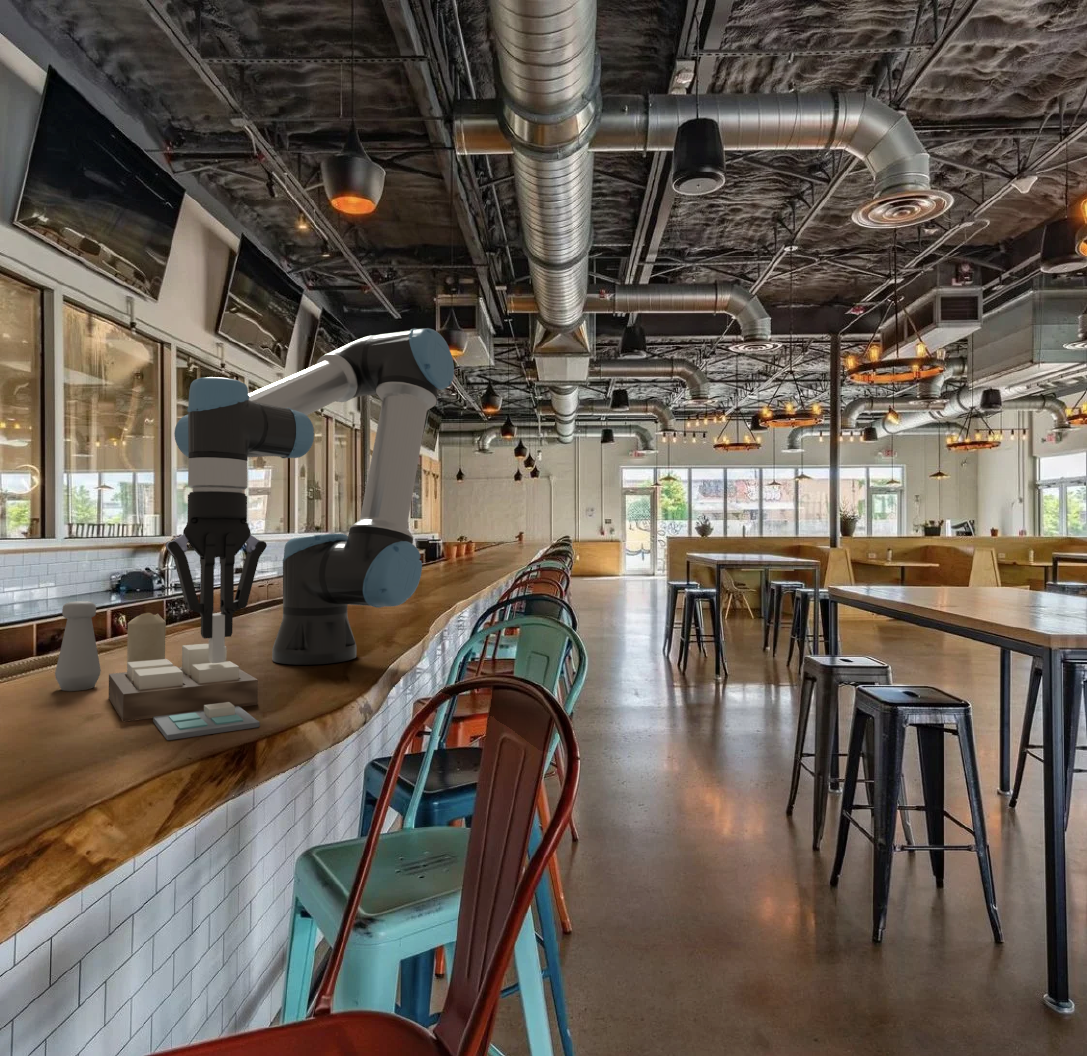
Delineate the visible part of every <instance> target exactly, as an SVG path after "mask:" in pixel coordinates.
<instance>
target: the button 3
mask: <svg viewBox="0 0 1087 1056" xmlns="http://www.w3.org/2000/svg"><path fill="white" fill-rule="evenodd" d="M239 669H240V666H239V665H237V664H236V663H234V662H232V661H230V660H227V662H221V663H205V664H194V665H192V680H193V681H194V682H196V683H197V684H199V683H209V682H218V681H228V680H237V679H239Z"/></svg>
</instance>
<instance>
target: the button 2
mask: <svg viewBox="0 0 1087 1056" xmlns="http://www.w3.org/2000/svg"><path fill="white" fill-rule="evenodd" d="M180 685H183V671H181V670H180V669H179V668H178V666H177V665H176V666H175V665H173V666H172V667H160V668H149V669H138V670H134V687H135V688H136V689H137V690H143V689H152V688H162V687H171V686H180Z"/></svg>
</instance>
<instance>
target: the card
mask: <svg viewBox="0 0 1087 1056" xmlns="http://www.w3.org/2000/svg"><path fill="white" fill-rule="evenodd" d="M152 723H153V724H154V725H155V726H156V728H157V729H158V731H160V733H161V734H162V735H163V737H164V738H165V740H167V741H172V740H179V739H185V738H192V737H200V736H207V735H212V734H213V735H214V734H219V733H227V732H232V731H240V730H241V731H242V730H248V729H253V728H254V729H255V728H259V727H260V721H259V720H258V719H256V718H255V717H254V716H252V715H251V714H250V713H248V712H247V711H246V710H244V709H243V708H242V707H239V706H234V705H232V704H231V703H230V702H225V703H217V704H208V705H204V710H202V711H194V712H186V713H178V714H171V715H163V716H155V717H153V718H152Z"/></svg>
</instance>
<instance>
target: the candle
mask: <svg viewBox="0 0 1087 1056" xmlns="http://www.w3.org/2000/svg"><path fill="white" fill-rule="evenodd" d="M166 623H167V622H166V621H165V620H164V619H163V618H162V616H161V615H160V614H159V613H156V614H153V613H151V612H145V613H141V614H140V615H137V616H136V617H134V618H133V619H131V620H130V621H128V623H127V642H126V643H127V646H126V647H127V651H126V653H127V654H126V658H127V659H126V663H127V662H137V661H148V660H160V659H166V626H167V625H166Z"/></svg>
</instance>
